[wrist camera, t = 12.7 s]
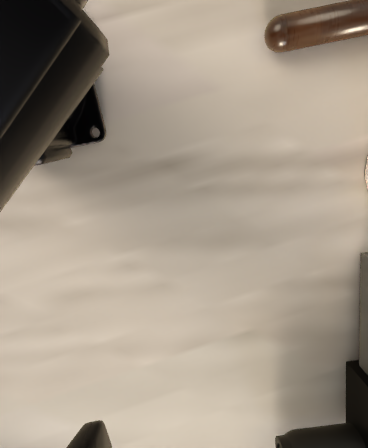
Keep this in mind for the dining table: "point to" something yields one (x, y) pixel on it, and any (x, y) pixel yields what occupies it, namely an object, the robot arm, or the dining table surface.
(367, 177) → the white cup
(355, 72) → the dining table surface
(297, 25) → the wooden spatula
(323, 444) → the door handle
